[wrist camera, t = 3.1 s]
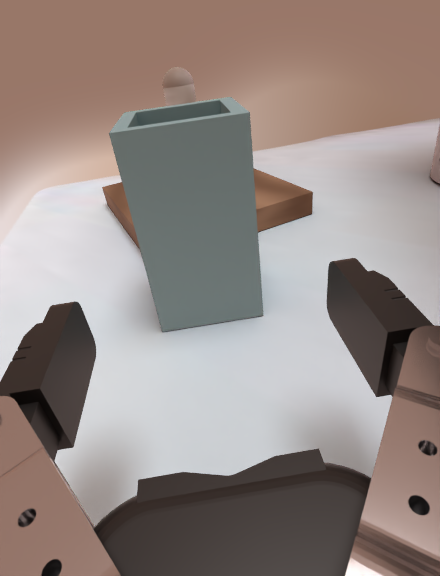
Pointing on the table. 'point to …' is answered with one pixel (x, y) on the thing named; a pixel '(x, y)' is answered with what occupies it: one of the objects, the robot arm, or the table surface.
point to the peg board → (268, 189)
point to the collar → (193, 209)
